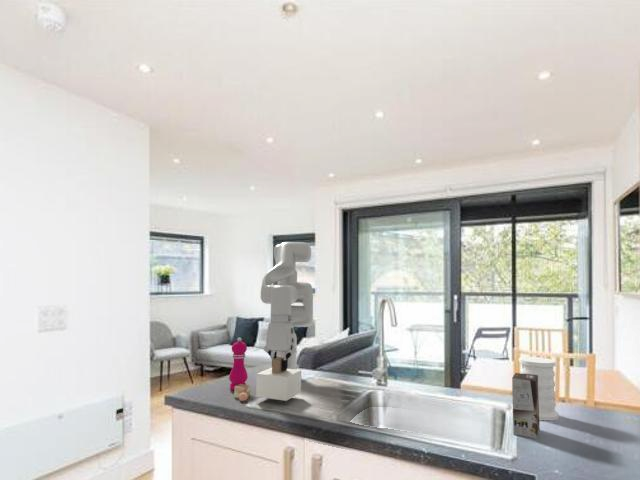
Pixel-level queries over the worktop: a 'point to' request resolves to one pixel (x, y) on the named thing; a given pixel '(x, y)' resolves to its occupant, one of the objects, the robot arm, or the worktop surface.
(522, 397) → the coffee box
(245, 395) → the terracotta ball
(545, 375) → the decorative container
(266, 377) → the cover
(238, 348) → the pepper mill
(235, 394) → the pine cube
